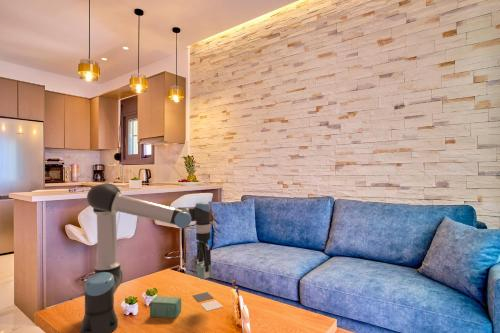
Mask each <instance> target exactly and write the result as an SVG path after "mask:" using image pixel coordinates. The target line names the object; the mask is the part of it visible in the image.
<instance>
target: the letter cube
mask: <svg viewBox="0 0 500 333" xmlns="http://www.w3.org/2000/svg"><path fill="white" fill-rule="evenodd" d="M203 265H204V262H203V263H200V264H199V263H197V264H195V267H196V269H195V270H196V276H197V278H200V280H203V279H205V278H204V266H203ZM212 273H213V272H212V264H211V265H209V278H210V277H212V276H213V274H212Z"/></svg>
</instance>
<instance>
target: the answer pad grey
mask: <svg viewBox="0 0 500 333" xmlns="http://www.w3.org/2000/svg"><path fill="white" fill-rule="evenodd" d="M199 305H200V306H201V307H202V308H203V310H205V311H206V312H210V311H213V310H219V309H220V308H224V306H223V305H222V304H221V303H220V302H219V301H218V300H216V299H215V300H211V301H207V302H203V303H199Z"/></svg>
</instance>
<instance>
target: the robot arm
mask: <svg viewBox="0 0 500 333" xmlns="http://www.w3.org/2000/svg"><path fill="white" fill-rule="evenodd" d="M86 200H87V203H88V205H89V206H90V207H91V208H93V209H92V210H93V213H94V214H95V215H96V229H97V230H96V231H97V239H96V240H97V264H96V265H95V266H94V274H92V275H90V276H88V277H87V278H86V280H85V283H84V287H83V288H84V316H83V318H82V321H81V324H80V327H79V333H113V332H114V331H115V330H116V329H117V328H118V326H119V320H118V317H117V314H116V311H115V305H114V304H115V302H114V301H115V300H114V299H115V298H114V297H115V292H116V291H117V289H118V288H119V287H120V286H121V284H122V281H123V276H124V274H123V270H122V269H121V262H119V261H118V249H117V248H118V247H117V242H118V241H117V239H118V238H117V213H118V212H119V213H124V214H127V215H128V214H129V215H132V216H136V217H141V218H145V219H149V220H153V221H158V222H161V223H162V222H163V223H165V224H169V225H170V224H171V225H175V226H177V227H178V228H179V229H185V228H187V227H188V226H189V225H190V224H191V223H192V222H195V232H196V234H195V239H196V260H197V261H198V264H200V263H203V262H204V265H203V266H204V278H203V279H207V278H209V279H210V277H209V265H211V266H212V260H211V259H212V256H211V252H212V251H211V249H212V248H211V247H212V246H211V245H209V240H211V239H212V238H211V227H212V224H211V204H210V203H209V202H206V201H205V202H204V201H203V202H197V203H196V204H195V206H191V207H190V206H186V207H181V206H180V207H173V206H172V207H171V206H168V205H164V204H159V203H155V202H151V201H147V200H143V199H140V198H136V197H131V196H127V195H123V194H122V192H121V189H120V188H119V187H118V186H117V185H115V184H113V183H102V184H96V185H94V186H92V187H91V188H90V189H89V191H88V192H87V195H86Z"/></svg>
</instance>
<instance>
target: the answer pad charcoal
mask: <svg viewBox="0 0 500 333" xmlns="http://www.w3.org/2000/svg"><path fill="white" fill-rule="evenodd" d="M192 297H193V298H194V300H195V301H196V302H197V303H200V302H204V301H208V300H213V299H214V297H213V296H212V295H211V293H209V292H208V291H205V292H202V293H197V294H192Z"/></svg>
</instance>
